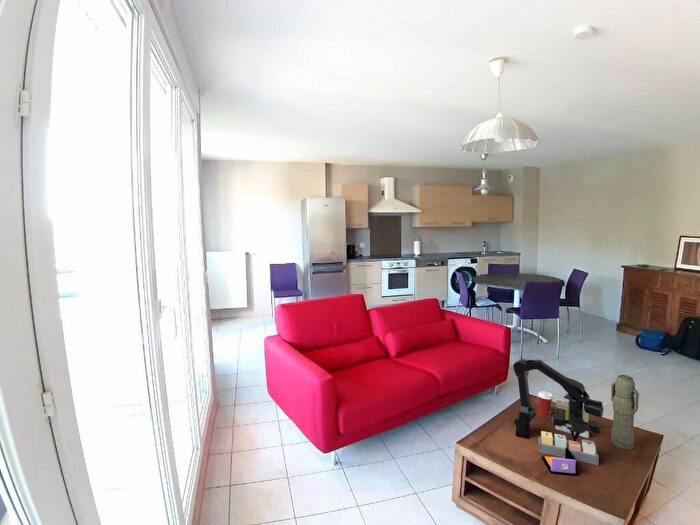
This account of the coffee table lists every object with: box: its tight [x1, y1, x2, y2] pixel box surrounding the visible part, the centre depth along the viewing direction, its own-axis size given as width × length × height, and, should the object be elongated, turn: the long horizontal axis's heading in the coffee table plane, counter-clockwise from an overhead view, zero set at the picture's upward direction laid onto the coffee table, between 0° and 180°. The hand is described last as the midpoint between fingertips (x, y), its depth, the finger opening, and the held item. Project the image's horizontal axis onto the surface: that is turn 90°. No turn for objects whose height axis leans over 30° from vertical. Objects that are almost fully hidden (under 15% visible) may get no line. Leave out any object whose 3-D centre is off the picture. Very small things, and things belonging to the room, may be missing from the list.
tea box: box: [555, 397, 590, 439], centre depth 186 cm, size 15×10×15 cm
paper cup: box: [537, 390, 554, 419], centre depth 199 cm, size 8×8×14 cm
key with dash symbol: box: [567, 439, 581, 452], centre depth 165 cm, size 5×5×4 cm
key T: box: [581, 438, 597, 455], centre depth 162 cm, size 5×5×4 cm
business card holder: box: [541, 448, 580, 477], centre depth 157 cm, size 12×12×7 cm
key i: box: [540, 430, 554, 446], centre depth 169 cm, size 5×5×4 cm
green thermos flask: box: [610, 374, 640, 451], centre depth 172 cm, size 9×12×35 cm
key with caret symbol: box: [553, 433, 568, 448], centre depth 167 cm, size 5×5×4 cm
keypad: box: [537, 435, 600, 466], centre depth 166 cm, size 24×7×4 cm, turn 64°
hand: (574, 441), depth 164 cm, fingers closed
